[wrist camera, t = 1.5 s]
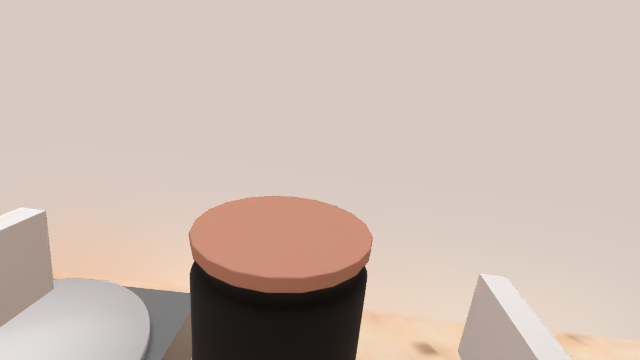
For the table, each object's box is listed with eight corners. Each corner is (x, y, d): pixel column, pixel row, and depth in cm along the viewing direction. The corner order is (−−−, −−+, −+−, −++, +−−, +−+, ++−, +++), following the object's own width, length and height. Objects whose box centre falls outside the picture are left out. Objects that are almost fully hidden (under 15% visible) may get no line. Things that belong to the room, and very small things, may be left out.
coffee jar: (296, 366, 34) (311, 188, 28) (371, 473, 25) (413, 248, 20) (179, 420, 28) (169, 207, 22) (225, 580, 19) (227, 304, 14)
